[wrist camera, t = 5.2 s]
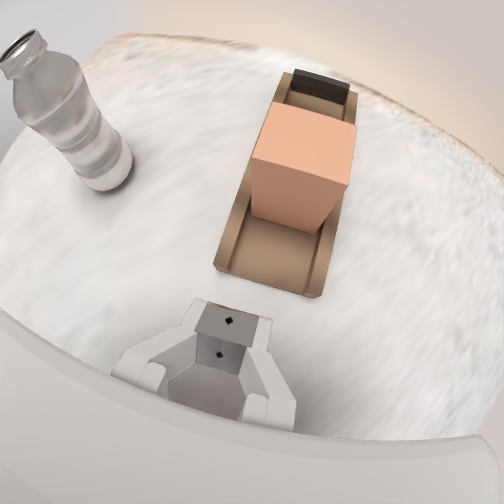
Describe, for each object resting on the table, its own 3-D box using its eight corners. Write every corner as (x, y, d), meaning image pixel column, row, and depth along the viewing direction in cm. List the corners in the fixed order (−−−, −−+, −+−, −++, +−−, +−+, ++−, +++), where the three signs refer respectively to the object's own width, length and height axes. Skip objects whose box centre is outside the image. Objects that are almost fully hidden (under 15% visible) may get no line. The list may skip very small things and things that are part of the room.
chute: (313, 298, 25) (324, 294, 21) (217, 269, 26) (211, 261, 22) (351, 108, 31) (360, 88, 27) (281, 88, 31) (284, 66, 27)
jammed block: (314, 234, 26) (348, 185, 16) (251, 215, 26) (251, 157, 16) (324, 188, 27) (357, 126, 17) (266, 170, 27) (272, 101, 17)
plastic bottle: (96, 208, 27) (-26, 98, 8) (85, 165, 29) (-9, 56, 9) (145, 178, 28) (52, 33, 9) (129, 138, 30) (56, 8, 10)
